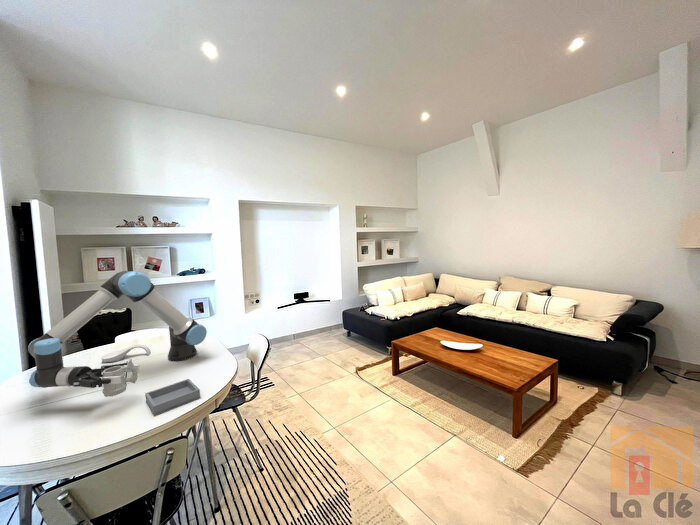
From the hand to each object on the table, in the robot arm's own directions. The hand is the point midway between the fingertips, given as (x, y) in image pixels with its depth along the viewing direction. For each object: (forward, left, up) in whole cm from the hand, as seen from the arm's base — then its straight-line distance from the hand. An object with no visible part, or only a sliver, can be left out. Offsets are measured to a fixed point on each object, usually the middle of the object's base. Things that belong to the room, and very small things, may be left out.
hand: (130, 373), depth 116 cm
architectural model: (+21, -75, -15) cm, 80 cm away
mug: (+3, -3, -7) cm, 8 cm away
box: (-13, +7, -15) cm, 21 cm away
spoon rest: (-7, -70, -15) cm, 72 cm away
